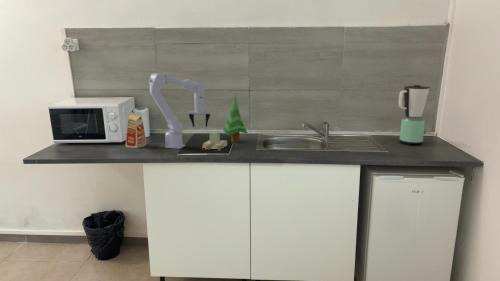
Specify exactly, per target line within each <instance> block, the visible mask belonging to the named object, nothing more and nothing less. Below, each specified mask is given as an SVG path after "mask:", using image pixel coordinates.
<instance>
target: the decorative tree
mask: <svg viewBox="0 0 500 281" xmlns="http://www.w3.org/2000/svg"><path fill="white" fill-rule="evenodd" d="M222 130H223V131H224V133H225V134H226V135H227V136H230V135H231V136H230V137H231V139H230V140H231V143H237V144H238V143H240V133H244V134H248V132H247V128H246V127H245V124H244V123H243V119H242V117H241V114H240V109H239V105H238V101H237V96H236V94H234V96H233V99H232V103H231V107H230V111H229V116H228V117H227V120H226V121H225V124H224V127H223V128H222Z"/></svg>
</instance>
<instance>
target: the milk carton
mask: <svg viewBox="0 0 500 281" xmlns="http://www.w3.org/2000/svg"><path fill="white" fill-rule="evenodd" d="M126 125H127V126H126V136H125V147H126V148H132V149H135V148H136V149H137V148H141V147H145V146H146V145H147V138H146V133H145V127H144V121H143V118H142V115H141V114H137V113H134V112H130V115H129V116H128V118H127V124H126Z"/></svg>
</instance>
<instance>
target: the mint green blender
mask: <svg viewBox="0 0 500 281" xmlns="http://www.w3.org/2000/svg"><path fill="white" fill-rule="evenodd" d="M430 89H431V88H430V86H422V85H419V84H415V85H408V86H406V85H405V86H404V88H403V90H402V89H401V91H400V92H399V95H398V101H397V102H398V107H399V108H400V109H401V110H404V112H405V115H403V116H402V118H401V123H400V129H399V143H403V144H407V146H411V145H419V144H422V145H423V142H424V134H426V133H427V129H426V127H425V124H426V120H425V117H424V116H423V113H424V109H425V107H426V106H425V105H426V104H427V99H428V95H429V91H430ZM403 99H404V105H403Z"/></svg>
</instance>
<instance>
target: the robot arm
mask: <svg viewBox="0 0 500 281" xmlns="http://www.w3.org/2000/svg"><path fill="white" fill-rule="evenodd" d="M148 83H149V93H150V96H151V98H152V99H153V100H154V102H155V103H156V105H157V106H158V109H159V110H160V112H161V113H162V115H163V117H164V118H165V122H166V123H167V124H166V126H167V128H168V129H169V131H166V132H165V136H164V142H165V146H164V148H165V149H166V148H167V149H168V148H169V149H178V150H180V149H182V148H184V147H186V144H184V143H183V131H184V124H183V123H182V122H180V120H179V119H178V118H177V117H176V115H175V114H174V113H173V111H172V109H171V108H170V106H169V104H168V103H167V101H166V98H164V96H163V95H162V89H163V87H164V86H165V85H166V84H169V83H171V84H174V85H178V86H181V88H182V89H183V90H186V91H189V92H191V93H193V100H194V104H193V105H194V110H193V111H192V110H189V111H187V112H186V115H187V116H188V117H189V119H190V122H191V124H192V127H193V128H194V127H195V116H196V115H197V116H199V115H200V116H201V115H202V116H204V115H205V128H207V127H208V122H209V119H210V118H211V117H210V116H212V114H213V111H211V110H205V92H206V88H205V86H204V84H202V83H198V82H197V81H193V80H191V79H189V78H186V79H184V80H182V79H179V78H177V77H175V76H172V75H169V74H163V73H157V72H156V73H155V72H154V73H152V74H151V75H150V76H149V79H148Z"/></svg>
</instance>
